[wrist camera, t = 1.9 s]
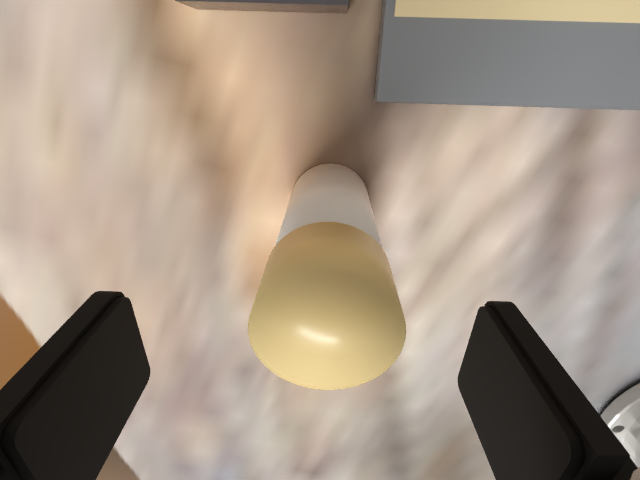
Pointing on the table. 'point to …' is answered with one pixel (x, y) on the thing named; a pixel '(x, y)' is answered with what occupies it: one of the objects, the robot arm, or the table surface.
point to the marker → (327, 288)
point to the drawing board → (510, 53)
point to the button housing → (271, 5)
